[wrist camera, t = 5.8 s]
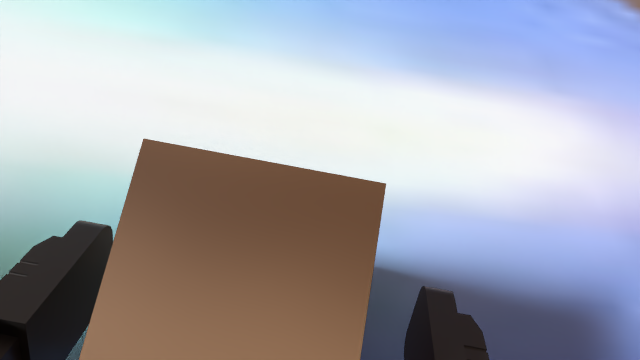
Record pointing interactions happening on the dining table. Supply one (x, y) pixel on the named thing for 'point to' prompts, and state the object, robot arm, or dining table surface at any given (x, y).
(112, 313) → the pillar
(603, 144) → the dining table surface
